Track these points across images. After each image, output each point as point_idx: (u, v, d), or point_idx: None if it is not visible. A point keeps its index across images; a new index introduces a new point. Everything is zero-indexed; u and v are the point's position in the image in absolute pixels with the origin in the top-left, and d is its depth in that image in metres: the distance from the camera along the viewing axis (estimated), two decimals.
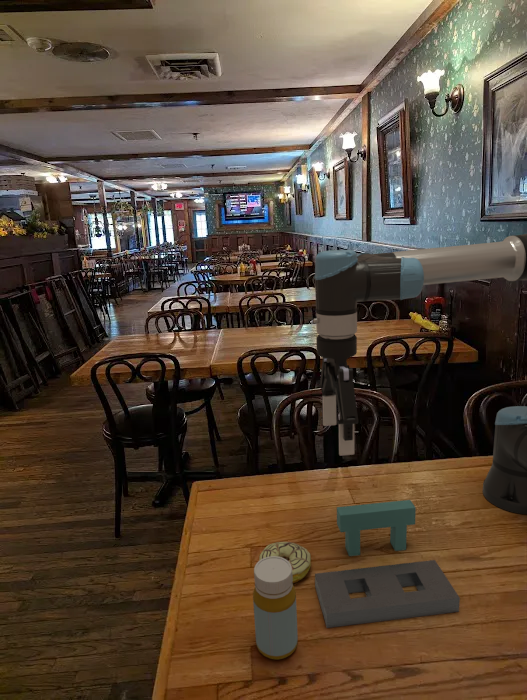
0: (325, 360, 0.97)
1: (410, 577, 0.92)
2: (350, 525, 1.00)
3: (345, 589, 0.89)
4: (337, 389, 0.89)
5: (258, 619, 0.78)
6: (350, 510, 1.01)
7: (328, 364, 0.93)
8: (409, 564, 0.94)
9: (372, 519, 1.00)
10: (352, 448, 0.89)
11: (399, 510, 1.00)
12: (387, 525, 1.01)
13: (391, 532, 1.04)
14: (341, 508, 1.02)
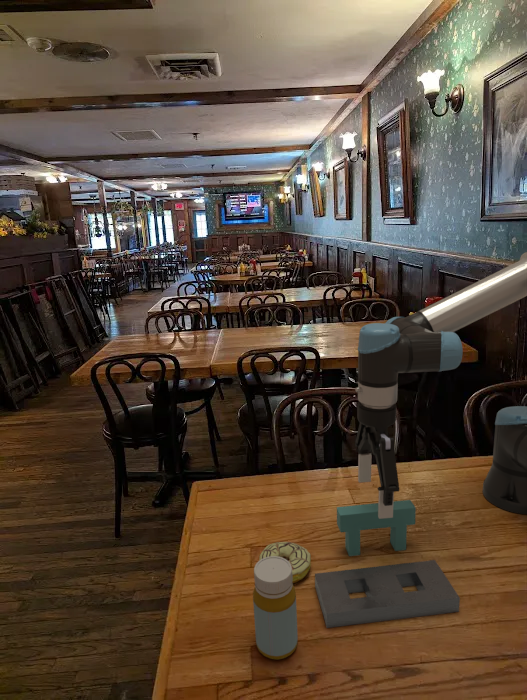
0: None
1: (410, 577, 0.92)
2: (350, 525, 1.00)
3: (345, 589, 0.89)
4: (378, 456, 0.93)
5: (258, 619, 0.78)
6: (350, 510, 1.01)
7: (367, 429, 0.98)
8: (409, 564, 0.94)
9: (372, 519, 1.00)
10: (391, 512, 0.94)
11: (399, 510, 1.00)
12: (387, 525, 1.01)
13: (391, 532, 1.04)
14: (341, 508, 1.02)
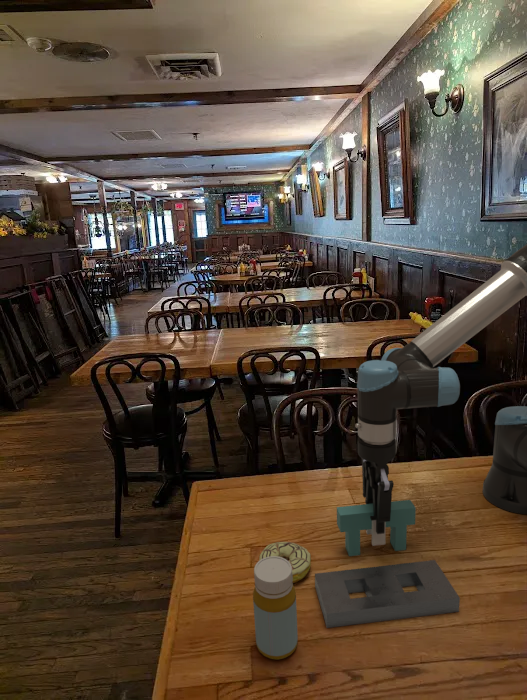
0: (364, 461, 1.04)
1: (410, 577, 0.92)
2: (350, 525, 1.00)
3: (345, 589, 0.89)
4: (375, 491, 0.97)
5: (258, 619, 0.78)
6: (350, 510, 1.01)
7: None
8: (409, 564, 0.94)
9: None
10: (383, 539, 1.01)
11: (399, 510, 1.00)
12: (387, 525, 1.01)
13: (391, 532, 1.04)
14: (341, 508, 1.02)
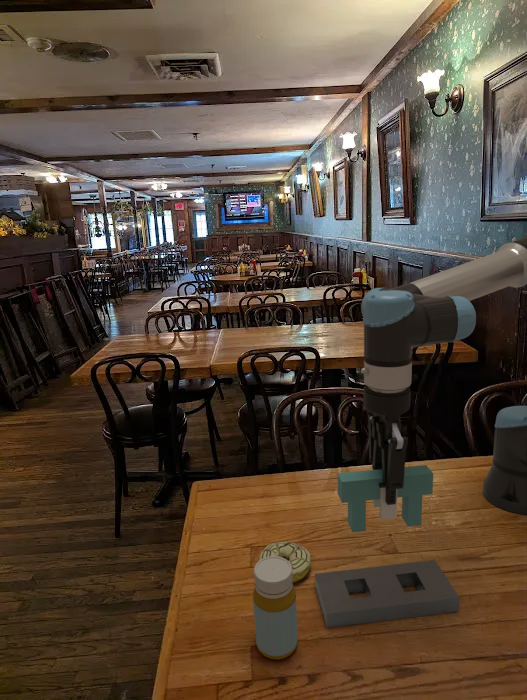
0: (371, 418, 0.86)
1: (410, 577, 0.92)
2: (353, 494, 0.82)
3: (345, 589, 0.89)
4: (384, 451, 0.80)
5: (258, 619, 0.78)
6: (353, 476, 0.83)
7: None
8: (409, 564, 0.94)
9: None
10: (394, 512, 0.83)
11: (413, 476, 0.83)
12: (399, 495, 0.83)
13: (403, 504, 0.87)
14: (343, 474, 0.84)
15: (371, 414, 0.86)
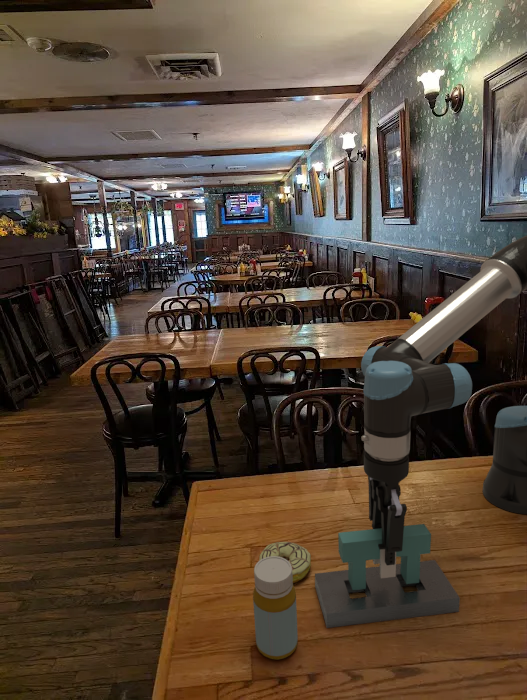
0: (371, 478, 0.89)
1: None
2: (354, 555, 0.85)
3: (345, 589, 0.89)
4: (384, 515, 0.83)
5: (258, 619, 0.78)
6: (354, 537, 0.86)
7: None
8: None
9: None
10: (393, 571, 0.86)
11: (411, 537, 0.86)
12: (397, 554, 0.86)
13: (402, 561, 0.89)
14: (344, 534, 0.87)
15: None
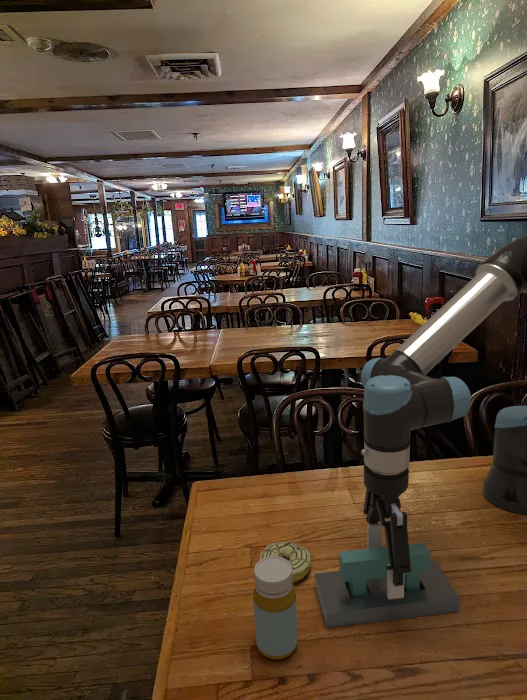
0: None
1: None
2: (354, 574, 0.86)
3: (345, 589, 0.89)
4: (387, 529, 0.82)
5: (258, 619, 0.78)
6: (354, 556, 0.87)
7: None
8: None
9: (381, 567, 0.87)
10: (402, 591, 0.83)
11: (411, 556, 0.87)
12: None
13: None
14: (344, 553, 0.88)
15: None
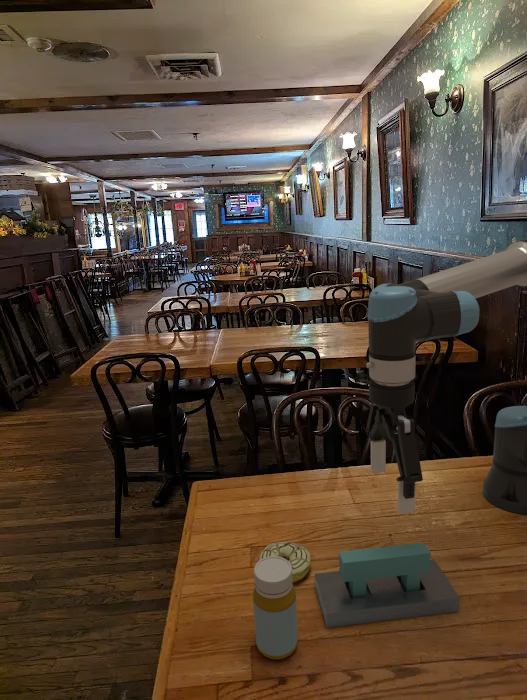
0: None
1: None
2: (354, 574, 0.86)
3: (345, 589, 0.89)
4: (395, 441, 0.80)
5: (258, 619, 0.78)
6: (354, 556, 0.87)
7: (381, 411, 0.84)
8: None
9: (381, 567, 0.87)
10: (412, 506, 0.80)
11: (411, 556, 0.87)
12: (397, 573, 0.87)
13: (402, 580, 0.91)
14: (344, 553, 0.88)
15: None
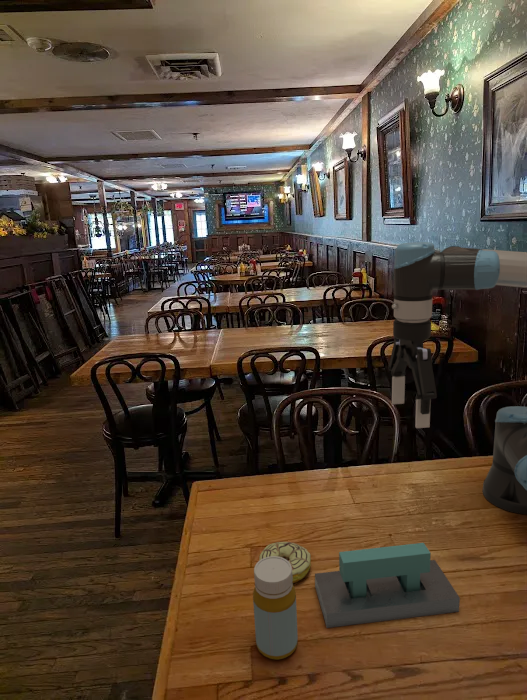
0: (397, 343, 1.07)
1: None
2: (354, 574, 0.86)
3: (345, 589, 0.89)
4: (414, 368, 0.98)
5: (258, 619, 0.78)
6: (354, 556, 0.87)
7: (403, 346, 1.02)
8: None
9: (381, 567, 0.87)
10: (428, 421, 0.98)
11: (411, 556, 0.87)
12: (397, 573, 0.87)
13: (402, 580, 0.91)
14: (344, 553, 0.88)
15: (397, 340, 1.07)
